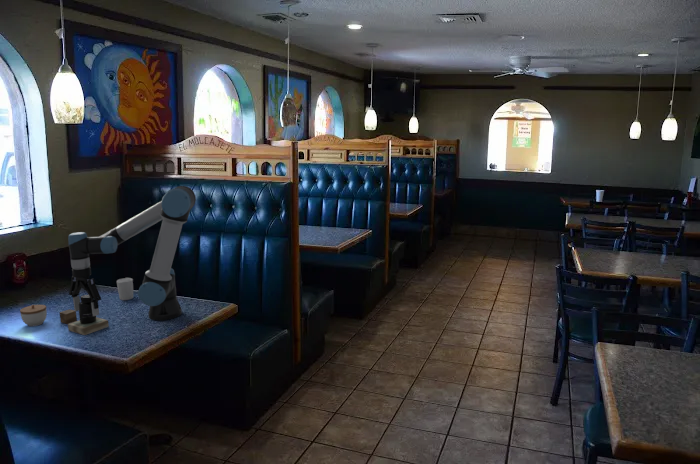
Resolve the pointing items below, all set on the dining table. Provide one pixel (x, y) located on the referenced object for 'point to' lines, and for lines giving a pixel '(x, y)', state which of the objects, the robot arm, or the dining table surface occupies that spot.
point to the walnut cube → (68, 316)
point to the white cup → (125, 288)
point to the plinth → (88, 326)
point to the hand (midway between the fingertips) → (86, 312)
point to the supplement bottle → (86, 310)
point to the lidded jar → (34, 315)
